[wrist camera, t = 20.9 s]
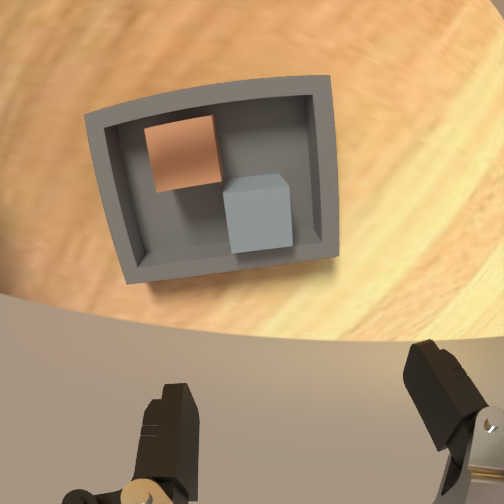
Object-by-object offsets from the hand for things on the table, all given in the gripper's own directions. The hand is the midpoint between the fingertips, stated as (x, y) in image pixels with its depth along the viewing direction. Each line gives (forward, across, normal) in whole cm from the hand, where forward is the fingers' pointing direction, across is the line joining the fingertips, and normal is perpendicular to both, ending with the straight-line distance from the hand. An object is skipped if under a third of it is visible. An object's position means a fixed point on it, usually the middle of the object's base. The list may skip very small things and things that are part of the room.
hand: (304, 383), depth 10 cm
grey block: (+21, 0, 0) cm, 21 cm away
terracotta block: (+21, +5, -6) cm, 22 cm away
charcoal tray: (+22, +3, -3) cm, 22 cm away
